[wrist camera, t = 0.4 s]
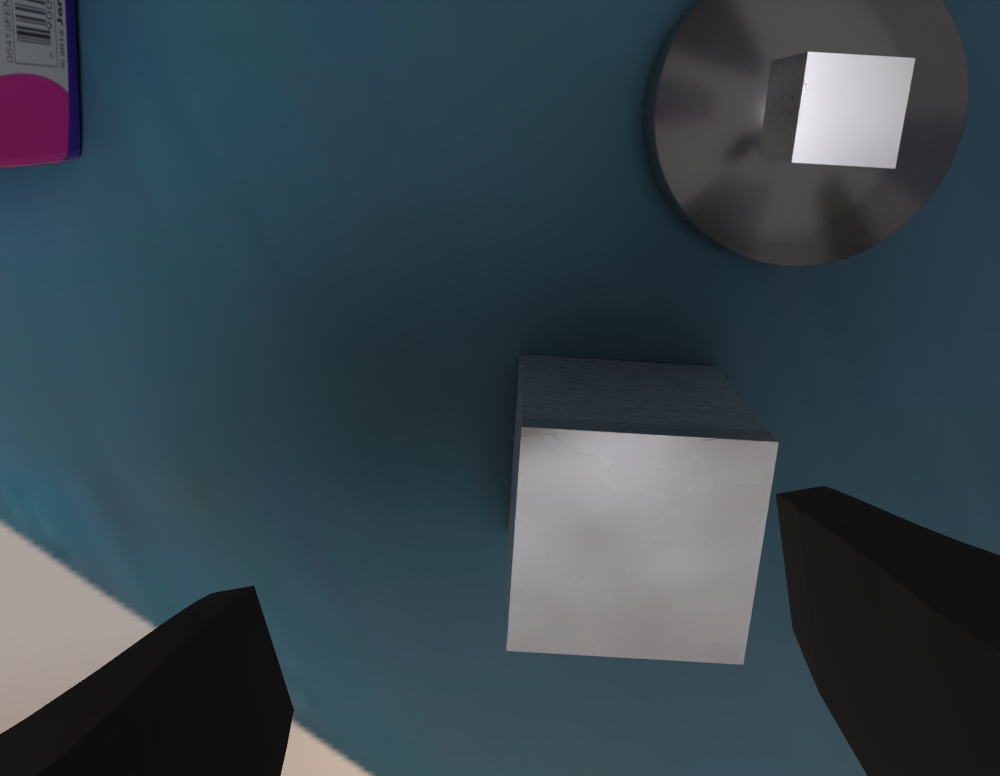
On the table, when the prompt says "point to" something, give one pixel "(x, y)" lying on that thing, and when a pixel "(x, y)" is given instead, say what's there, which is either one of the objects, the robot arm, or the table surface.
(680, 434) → the brushed metal cube
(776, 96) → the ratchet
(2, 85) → the supplement box
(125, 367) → the table surface
